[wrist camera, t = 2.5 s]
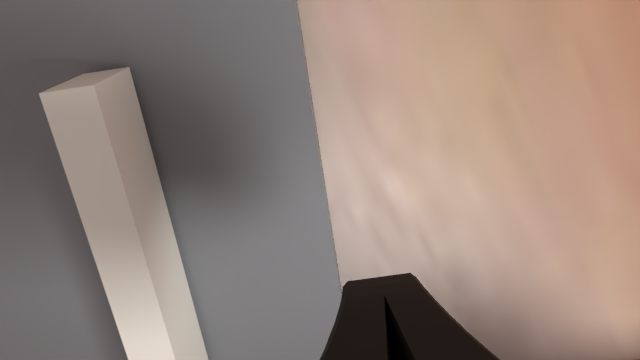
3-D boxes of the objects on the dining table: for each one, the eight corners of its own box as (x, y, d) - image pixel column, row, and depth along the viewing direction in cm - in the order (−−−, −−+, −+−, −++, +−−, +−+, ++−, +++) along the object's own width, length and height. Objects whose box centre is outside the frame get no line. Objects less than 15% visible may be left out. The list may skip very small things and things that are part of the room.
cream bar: (272, 499, 19) (266, 568, 17) (189, 508, 19) (173, 579, 17) (163, 61, 14) (135, 78, 11) (48, 79, 14) (-3, 99, 12)
